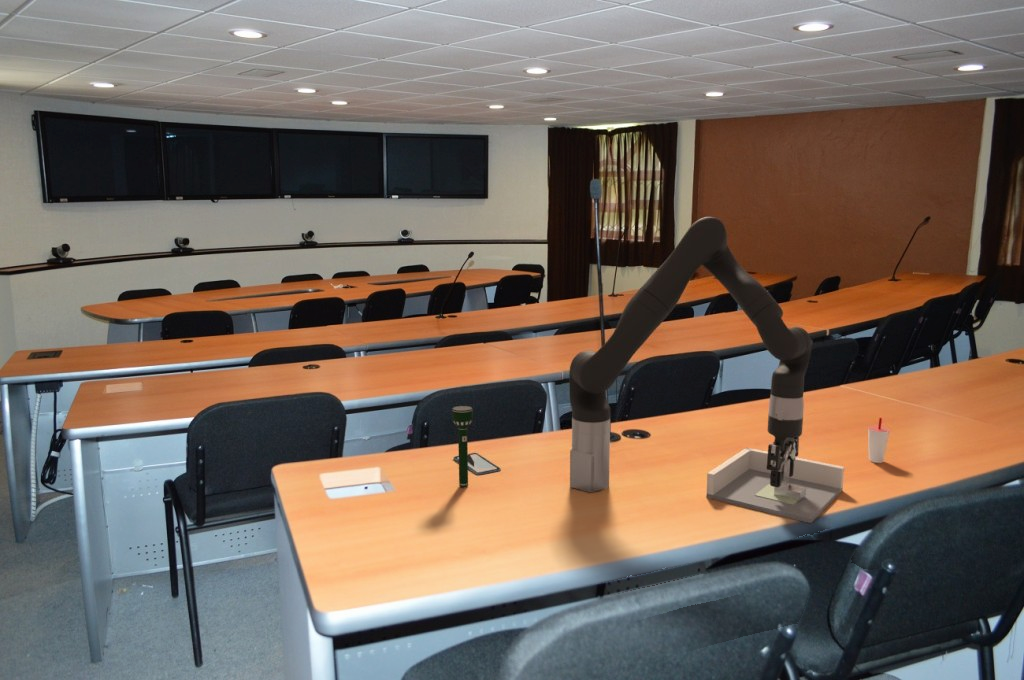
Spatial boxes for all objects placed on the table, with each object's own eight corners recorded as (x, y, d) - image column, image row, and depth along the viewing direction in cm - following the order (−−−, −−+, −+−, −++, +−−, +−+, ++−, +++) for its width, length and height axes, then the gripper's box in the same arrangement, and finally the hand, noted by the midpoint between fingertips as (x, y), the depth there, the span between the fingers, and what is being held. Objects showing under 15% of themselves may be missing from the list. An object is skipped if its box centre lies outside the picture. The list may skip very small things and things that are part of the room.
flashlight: (457, 491, 182) (455, 411, 178) (450, 484, 186) (448, 406, 183) (477, 488, 184) (475, 409, 180) (469, 481, 188) (468, 404, 185)
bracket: (773, 495, 175) (775, 462, 174) (779, 490, 178) (781, 457, 177) (799, 501, 172) (802, 467, 170) (805, 496, 175) (807, 463, 173)
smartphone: (477, 474, 192) (452, 456, 205) (477, 478, 193) (452, 460, 205) (502, 469, 196) (476, 452, 209) (502, 472, 196) (476, 455, 209)
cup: (889, 464, 199) (893, 421, 197) (867, 463, 200) (871, 419, 198) (884, 458, 204) (887, 415, 202) (862, 457, 205) (866, 414, 203)
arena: (810, 523, 163) (812, 497, 162) (706, 497, 177) (707, 473, 176) (842, 490, 181) (844, 466, 180) (745, 469, 196) (746, 447, 195)
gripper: (780, 405, 181) (776, 469, 183) (758, 418, 170) (754, 486, 173) (812, 410, 176) (807, 476, 179) (791, 423, 165) (787, 493, 168)
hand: (781, 481), depth 176 cm, fingers open, 8 cm apart
